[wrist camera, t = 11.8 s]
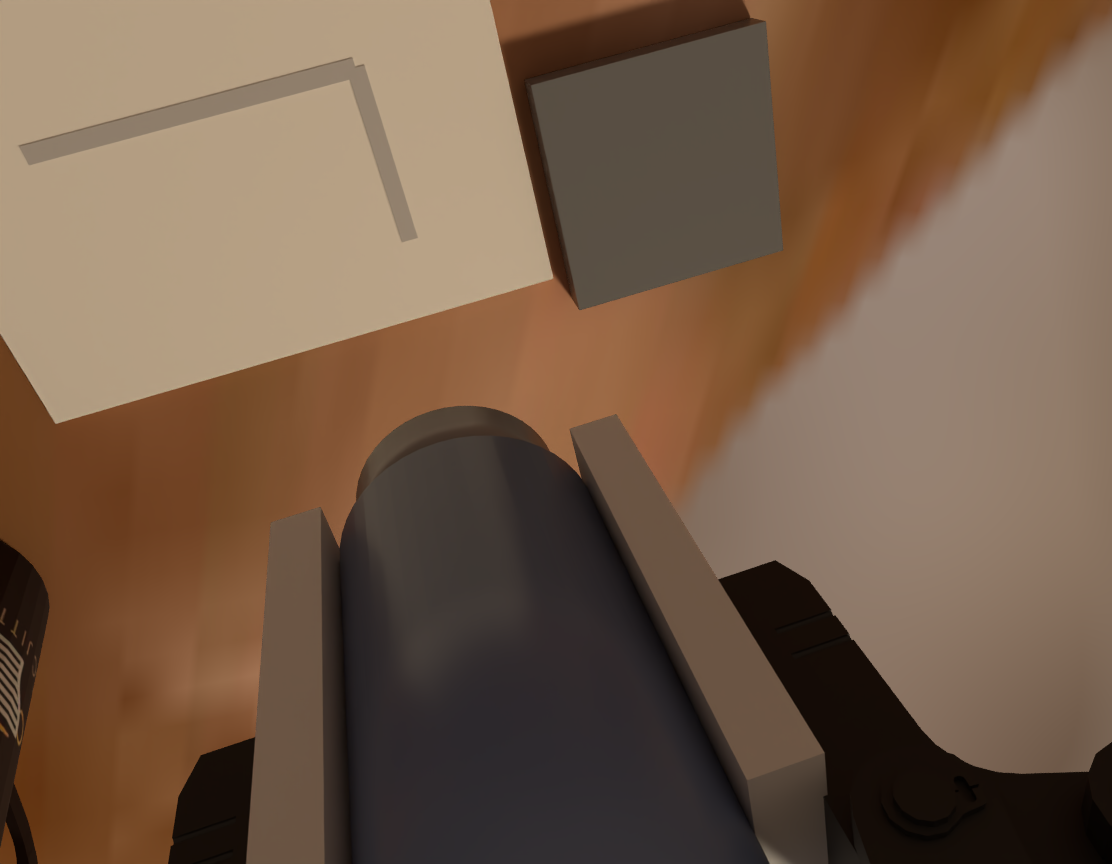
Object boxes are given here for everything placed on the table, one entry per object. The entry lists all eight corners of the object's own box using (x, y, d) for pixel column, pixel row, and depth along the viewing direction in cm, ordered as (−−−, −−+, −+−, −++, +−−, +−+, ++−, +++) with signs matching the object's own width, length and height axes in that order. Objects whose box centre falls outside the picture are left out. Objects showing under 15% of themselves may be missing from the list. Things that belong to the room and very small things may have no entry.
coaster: (572, 299, 29) (579, 310, 28) (524, 80, 25) (530, 85, 24) (769, 240, 30) (783, 250, 29) (751, 18, 26) (765, 21, 25)
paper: (58, 419, 27) (55, 424, 27) (-172, 43, 21) (-179, 45, 21) (551, 275, 28) (553, 279, 28) (461, -117, 23) (463, -117, 22)
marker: (378, 622, 16) (524, 2212, 5) (291, 430, 14) (196, 2583, 3) (600, 550, 16) (1204, 1872, 5) (551, 351, 14) (1432, 1934, 3)
